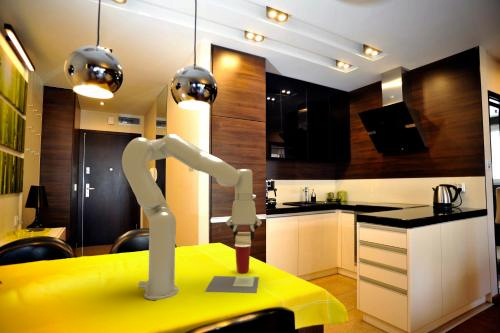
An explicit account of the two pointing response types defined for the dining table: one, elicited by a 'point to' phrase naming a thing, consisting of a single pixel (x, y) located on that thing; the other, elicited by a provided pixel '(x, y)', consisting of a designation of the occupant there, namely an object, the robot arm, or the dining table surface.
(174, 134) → the robot arm
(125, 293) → the dining table surface
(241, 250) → the paper cup
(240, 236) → the card box
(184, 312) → the dining table surface
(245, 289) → the mat
